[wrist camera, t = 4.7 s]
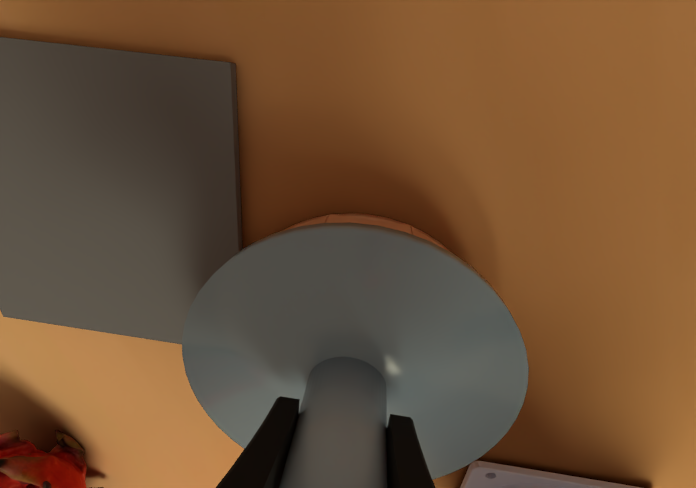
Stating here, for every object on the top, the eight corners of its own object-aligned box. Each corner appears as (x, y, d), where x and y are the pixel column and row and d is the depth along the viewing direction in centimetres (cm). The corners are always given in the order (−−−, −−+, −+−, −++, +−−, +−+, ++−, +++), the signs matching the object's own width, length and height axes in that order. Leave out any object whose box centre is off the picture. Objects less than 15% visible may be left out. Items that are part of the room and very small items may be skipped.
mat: (235, 63, 10) (230, 62, 10) (246, 347, 15) (242, 353, 15) (-105, 25, 11) (-122, 23, 11) (12, 311, 16) (3, 316, 16)
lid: (568, 232, 9) (732, 355, 5) (484, 487, 14) (527, 654, 10) (156, 213, 10) (-9, 299, 6) (219, 456, 15) (155, 596, 11)
